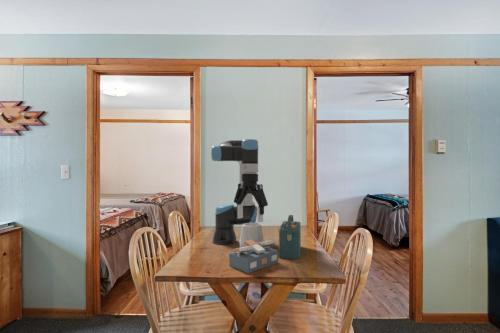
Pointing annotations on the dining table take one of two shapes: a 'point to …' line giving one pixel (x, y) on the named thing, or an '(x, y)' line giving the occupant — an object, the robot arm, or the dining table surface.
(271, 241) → the rocker far
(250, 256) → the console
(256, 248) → the rocker mid
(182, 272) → the dining table surface
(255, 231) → the vase
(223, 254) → the dining table surface
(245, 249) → the rocker near
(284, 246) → the radio
